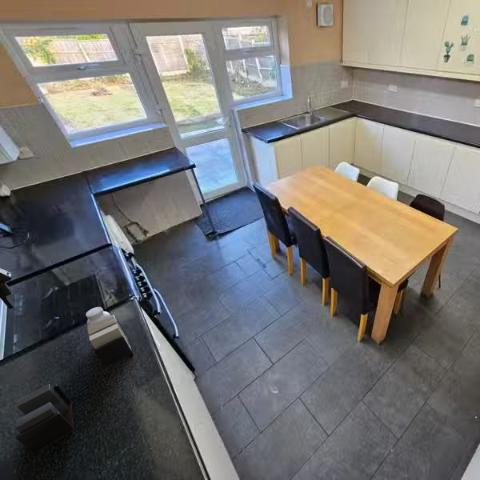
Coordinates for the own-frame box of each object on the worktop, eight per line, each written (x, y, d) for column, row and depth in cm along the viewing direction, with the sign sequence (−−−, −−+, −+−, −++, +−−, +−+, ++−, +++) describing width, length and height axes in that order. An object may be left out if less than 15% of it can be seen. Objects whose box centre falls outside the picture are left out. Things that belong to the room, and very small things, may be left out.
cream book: (103, 358, 92) (88, 336, 86) (129, 345, 96) (116, 323, 91) (104, 363, 90) (89, 340, 85) (130, 349, 94) (118, 327, 89)
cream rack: (101, 348, 96) (85, 325, 91) (126, 336, 101) (113, 312, 95) (106, 368, 89) (89, 344, 83) (133, 354, 94) (119, 330, 88)
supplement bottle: (118, 326, 105) (104, 302, 99) (121, 337, 101) (106, 312, 94) (98, 335, 102) (81, 310, 95) (99, 347, 97) (82, 321, 91)
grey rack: (36, 421, 76) (13, 399, 70) (72, 401, 80) (53, 379, 75) (36, 455, 68) (9, 433, 63) (75, 431, 73) (54, 409, 68)
